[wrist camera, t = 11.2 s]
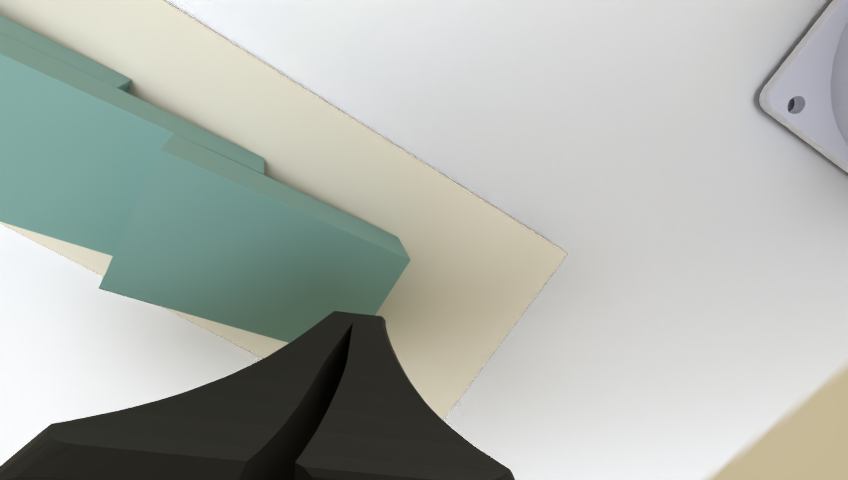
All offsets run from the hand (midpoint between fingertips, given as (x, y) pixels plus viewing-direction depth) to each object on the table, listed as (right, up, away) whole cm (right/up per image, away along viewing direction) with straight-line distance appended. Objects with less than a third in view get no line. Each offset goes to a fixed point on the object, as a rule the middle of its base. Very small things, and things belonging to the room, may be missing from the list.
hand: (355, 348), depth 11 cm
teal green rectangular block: (0, +1, +3) cm, 3 cm away
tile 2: (-4, +3, +2) cm, 6 cm away
